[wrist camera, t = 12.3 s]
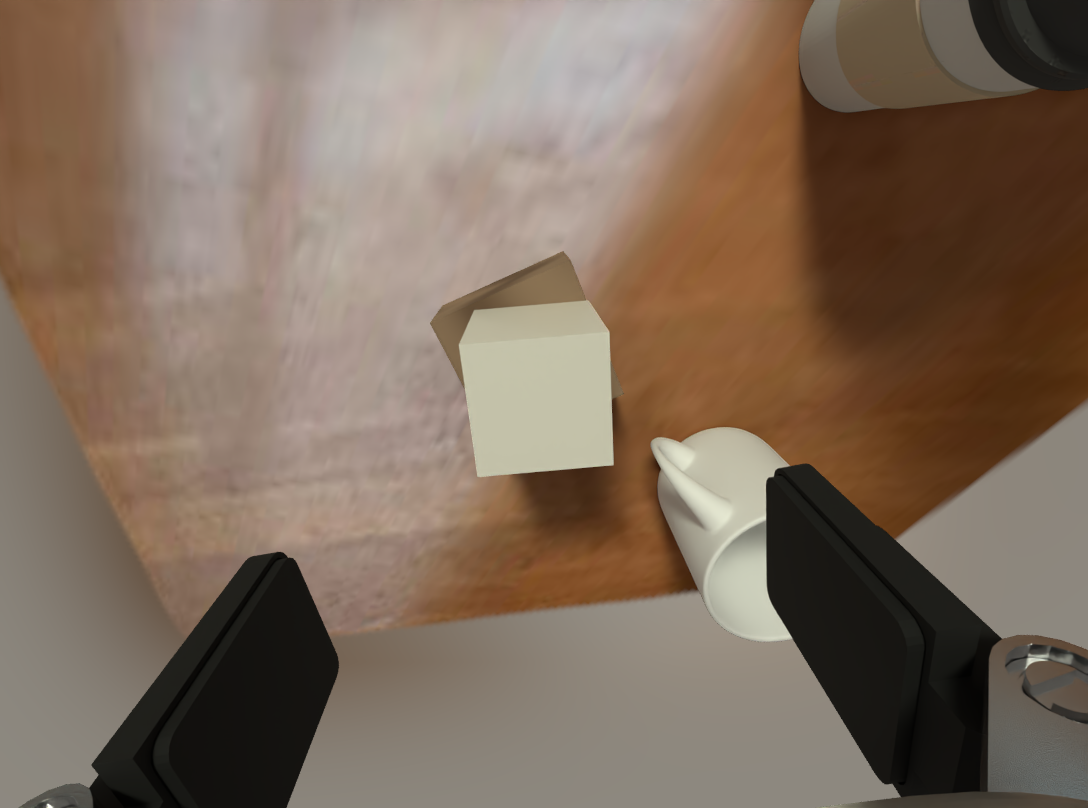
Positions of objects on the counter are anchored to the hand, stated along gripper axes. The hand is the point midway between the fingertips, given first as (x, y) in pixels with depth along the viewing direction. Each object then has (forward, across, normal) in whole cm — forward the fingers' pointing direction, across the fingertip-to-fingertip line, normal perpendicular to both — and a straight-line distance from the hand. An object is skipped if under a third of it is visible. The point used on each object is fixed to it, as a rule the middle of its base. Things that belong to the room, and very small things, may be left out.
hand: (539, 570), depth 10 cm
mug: (+24, -10, +13) cm, 29 cm away
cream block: (+19, 0, +2) cm, 19 cm away
